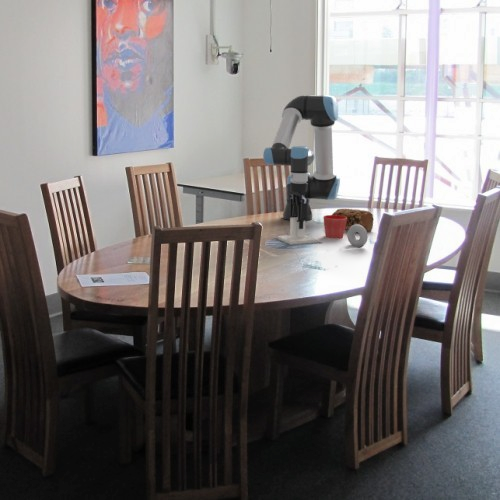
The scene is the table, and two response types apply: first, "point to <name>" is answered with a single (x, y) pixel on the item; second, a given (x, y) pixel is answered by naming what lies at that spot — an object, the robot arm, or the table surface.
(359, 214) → the bread
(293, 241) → the lid
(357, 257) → the table surface
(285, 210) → the robot arm
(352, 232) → the donut
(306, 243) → the mat
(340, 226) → the flower pot
